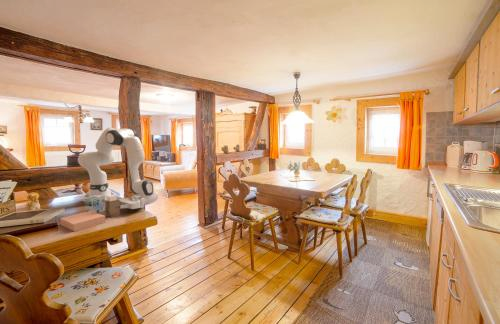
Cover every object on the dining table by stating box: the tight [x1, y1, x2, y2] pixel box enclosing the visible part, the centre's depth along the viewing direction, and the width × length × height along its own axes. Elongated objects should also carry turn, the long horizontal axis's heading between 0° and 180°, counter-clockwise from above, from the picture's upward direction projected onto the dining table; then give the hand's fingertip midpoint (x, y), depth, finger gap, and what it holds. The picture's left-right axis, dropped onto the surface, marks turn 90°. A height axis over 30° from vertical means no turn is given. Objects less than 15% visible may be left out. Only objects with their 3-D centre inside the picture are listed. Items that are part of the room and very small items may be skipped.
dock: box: [59, 211, 106, 232], centre depth 140 cm, size 18×16×4 cm
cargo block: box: [106, 194, 118, 201], centre depth 153 cm, size 4×4×3 cm
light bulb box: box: [83, 195, 106, 214], centre depth 160 cm, size 11×7×11 cm, turn 168°
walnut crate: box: [104, 198, 121, 218], centre depth 154 cm, size 6×6×10 cm
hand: (116, 206), depth 155 cm, fingers open, 8 cm apart
